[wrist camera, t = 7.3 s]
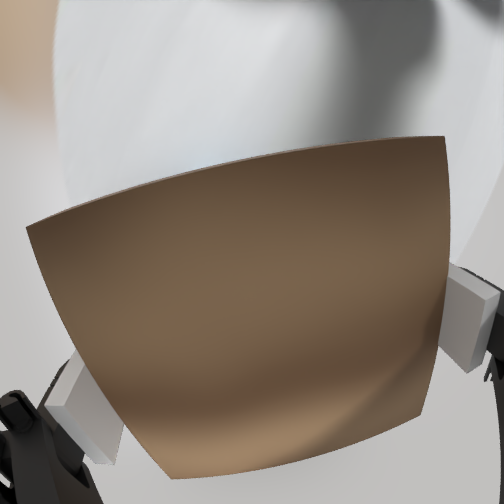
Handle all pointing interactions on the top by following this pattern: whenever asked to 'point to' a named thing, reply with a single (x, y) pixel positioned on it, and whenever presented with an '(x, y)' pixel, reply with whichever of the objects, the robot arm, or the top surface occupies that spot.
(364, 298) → the board
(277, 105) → the top surface
